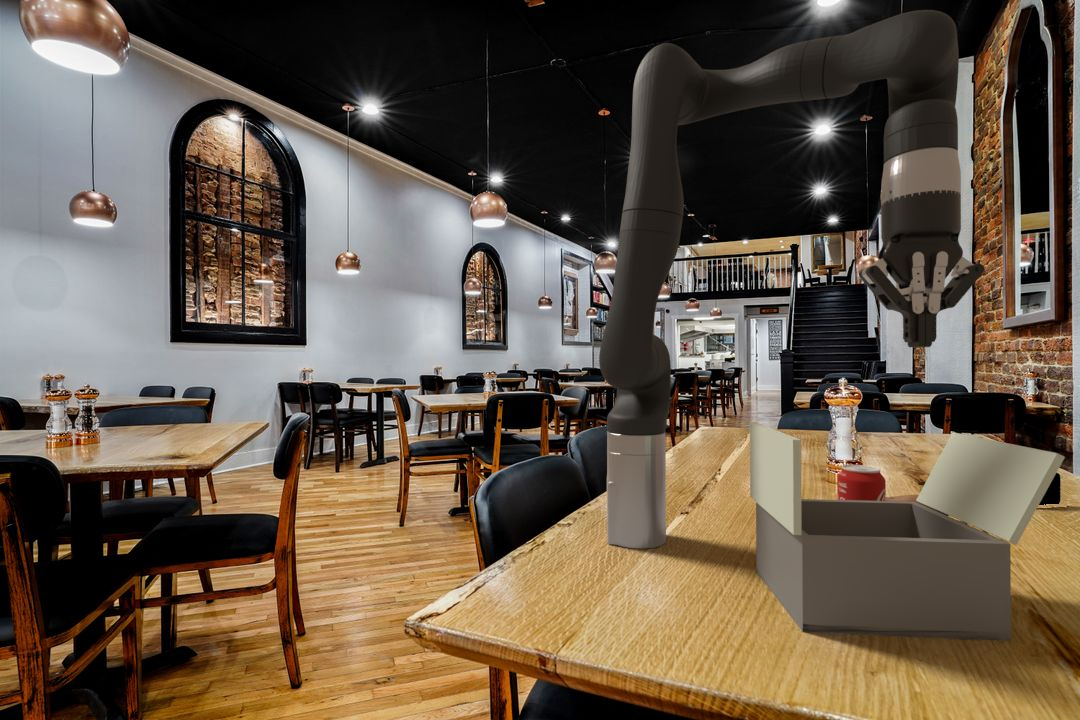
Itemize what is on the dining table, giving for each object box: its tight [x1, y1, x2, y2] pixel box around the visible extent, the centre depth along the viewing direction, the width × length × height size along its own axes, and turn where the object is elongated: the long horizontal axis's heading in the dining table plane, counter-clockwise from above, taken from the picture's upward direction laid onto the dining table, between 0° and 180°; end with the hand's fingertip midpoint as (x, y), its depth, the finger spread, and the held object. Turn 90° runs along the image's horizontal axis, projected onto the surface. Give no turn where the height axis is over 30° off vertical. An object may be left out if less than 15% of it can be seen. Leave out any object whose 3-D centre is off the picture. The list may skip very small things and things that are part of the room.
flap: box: [916, 432, 1066, 546], centre depth 61 cm, size 10×16×1 cm
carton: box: [749, 421, 1012, 642], centre depth 62 cm, size 21×16×20 cm
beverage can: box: [837, 464, 887, 501], centre depth 81 cm, size 6×6×12 cm
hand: (919, 346), depth 62 cm, fingers closed
